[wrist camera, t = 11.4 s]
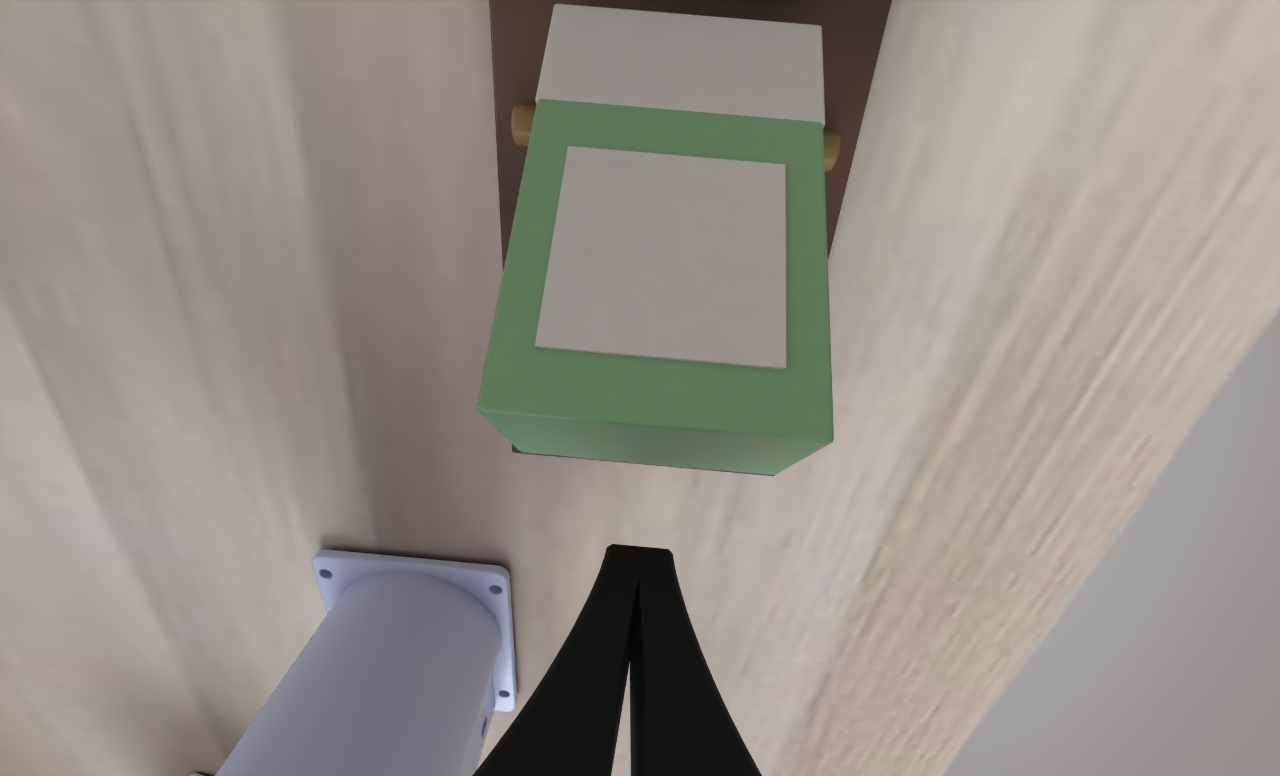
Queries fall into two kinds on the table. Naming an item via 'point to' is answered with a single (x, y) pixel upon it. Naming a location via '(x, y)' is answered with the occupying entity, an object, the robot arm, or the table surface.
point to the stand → (839, 3)
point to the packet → (669, 247)
